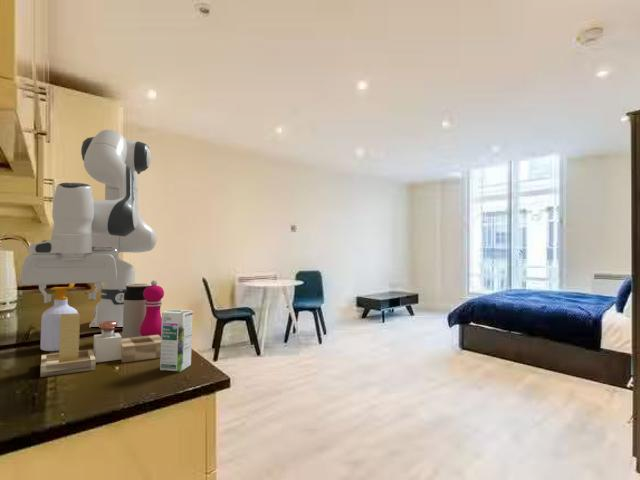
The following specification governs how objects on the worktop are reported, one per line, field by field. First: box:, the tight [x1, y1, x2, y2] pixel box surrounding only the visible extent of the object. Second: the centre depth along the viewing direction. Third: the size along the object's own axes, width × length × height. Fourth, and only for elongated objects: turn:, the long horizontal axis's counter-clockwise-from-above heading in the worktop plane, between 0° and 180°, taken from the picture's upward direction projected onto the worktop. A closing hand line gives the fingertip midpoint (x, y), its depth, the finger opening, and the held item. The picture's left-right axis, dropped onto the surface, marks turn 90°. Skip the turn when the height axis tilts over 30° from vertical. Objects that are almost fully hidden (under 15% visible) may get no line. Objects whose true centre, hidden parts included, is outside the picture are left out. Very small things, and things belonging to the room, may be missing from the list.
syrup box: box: [159, 309, 194, 373], centre depth 98 cm, size 6×6×14 cm
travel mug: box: [121, 282, 151, 338], centre depth 127 cm, size 8×8×18 cm
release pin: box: [98, 321, 117, 338], centre depth 105 cm, size 4×4×9 cm
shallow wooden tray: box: [39, 348, 97, 378], centre depth 96 cm, size 11×11×2 cm
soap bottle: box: [39, 283, 79, 352], centre depth 114 cm, size 9×9×25 cm
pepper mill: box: [140, 279, 165, 337], centre depth 121 cm, size 7×7×20 cm
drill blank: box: [58, 312, 81, 363], centre depth 96 cm, size 4×4×12 cm
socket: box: [120, 335, 161, 363], centre depth 109 cm, size 11×11×4 cm
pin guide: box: [92, 332, 122, 363], centre depth 105 cm, size 6×6×6 cm
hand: (70, 301), depth 97 cm, fingers open, 8 cm apart
